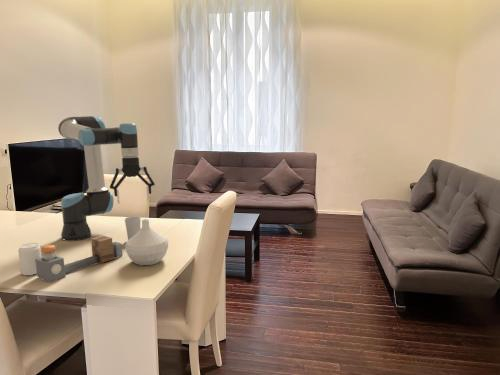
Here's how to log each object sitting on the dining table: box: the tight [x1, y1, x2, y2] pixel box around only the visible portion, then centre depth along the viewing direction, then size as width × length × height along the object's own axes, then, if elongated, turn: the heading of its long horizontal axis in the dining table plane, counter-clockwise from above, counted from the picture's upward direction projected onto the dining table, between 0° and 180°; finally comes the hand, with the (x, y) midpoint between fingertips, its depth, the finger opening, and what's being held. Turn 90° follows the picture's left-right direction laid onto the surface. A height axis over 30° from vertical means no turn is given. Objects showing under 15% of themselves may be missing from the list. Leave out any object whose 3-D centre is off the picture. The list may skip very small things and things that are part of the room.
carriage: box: [90, 235, 115, 264], centre depth 186 cm, size 7×6×10 cm
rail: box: [64, 241, 123, 275], centre depth 181 cm, size 5×29×6 cm, turn 143°
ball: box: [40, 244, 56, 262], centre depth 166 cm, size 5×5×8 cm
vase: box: [124, 218, 169, 266], centre depth 182 cm, size 18×18×19 cm
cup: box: [124, 216, 142, 241], centre depth 215 cm, size 8×8×12 cm
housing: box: [35, 254, 66, 283], centre depth 167 cm, size 9×7×8 cm
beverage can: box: [18, 242, 42, 276], centre depth 172 cm, size 8×8×12 cm
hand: (133, 201), depth 195 cm, fingers open, 13 cm apart
